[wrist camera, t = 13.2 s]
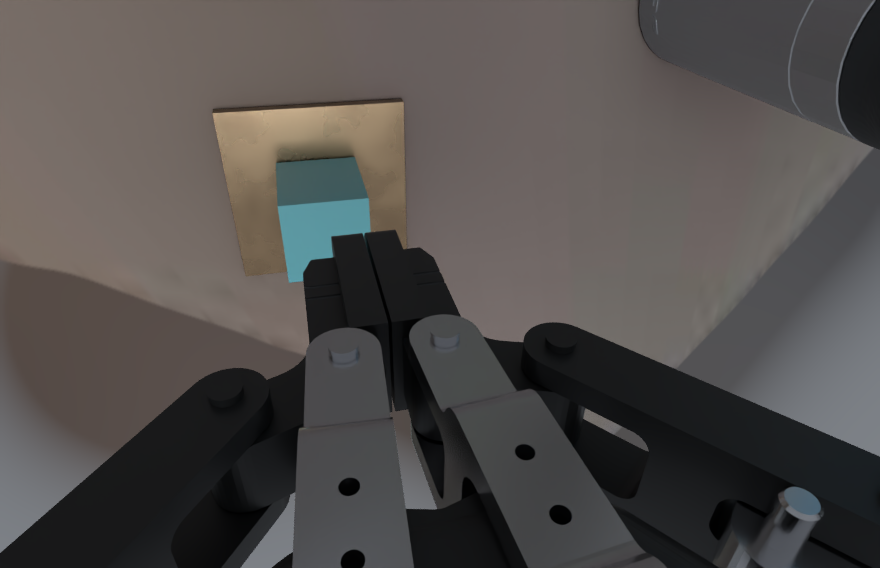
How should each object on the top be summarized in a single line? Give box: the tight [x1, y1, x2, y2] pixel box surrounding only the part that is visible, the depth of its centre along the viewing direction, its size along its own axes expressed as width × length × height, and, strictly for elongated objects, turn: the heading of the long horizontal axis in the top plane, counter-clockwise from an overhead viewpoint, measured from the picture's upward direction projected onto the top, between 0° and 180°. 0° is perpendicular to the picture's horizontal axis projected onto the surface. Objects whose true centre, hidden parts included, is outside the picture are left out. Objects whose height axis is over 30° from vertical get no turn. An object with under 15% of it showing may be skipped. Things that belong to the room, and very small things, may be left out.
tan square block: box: [212, 99, 407, 276], centre depth 38 cm, size 12×12×7 cm
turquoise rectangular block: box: [276, 157, 371, 283], centre depth 38 cm, size 5×5×7 cm
